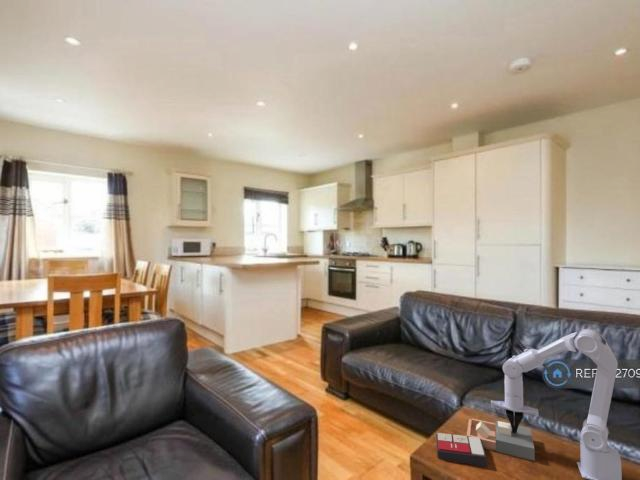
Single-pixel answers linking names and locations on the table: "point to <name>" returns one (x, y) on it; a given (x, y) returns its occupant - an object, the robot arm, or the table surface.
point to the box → (471, 432)
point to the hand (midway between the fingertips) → (514, 431)
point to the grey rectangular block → (516, 443)
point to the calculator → (461, 449)
